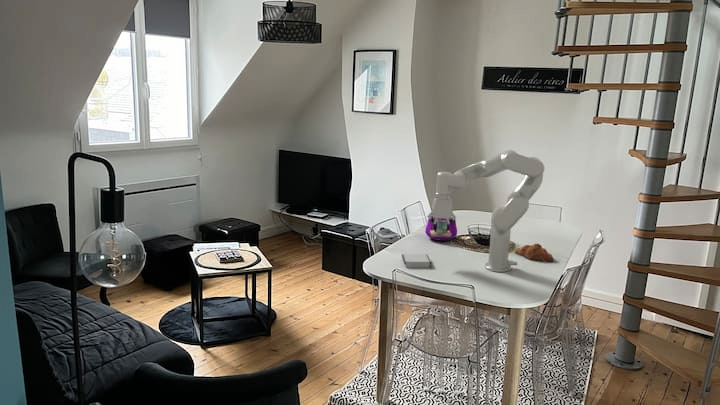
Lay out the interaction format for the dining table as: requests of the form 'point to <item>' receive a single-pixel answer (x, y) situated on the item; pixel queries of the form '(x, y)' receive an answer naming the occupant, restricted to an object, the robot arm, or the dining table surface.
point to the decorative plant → (451, 228)
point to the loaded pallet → (441, 230)
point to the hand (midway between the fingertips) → (440, 230)
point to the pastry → (534, 253)
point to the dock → (416, 260)
